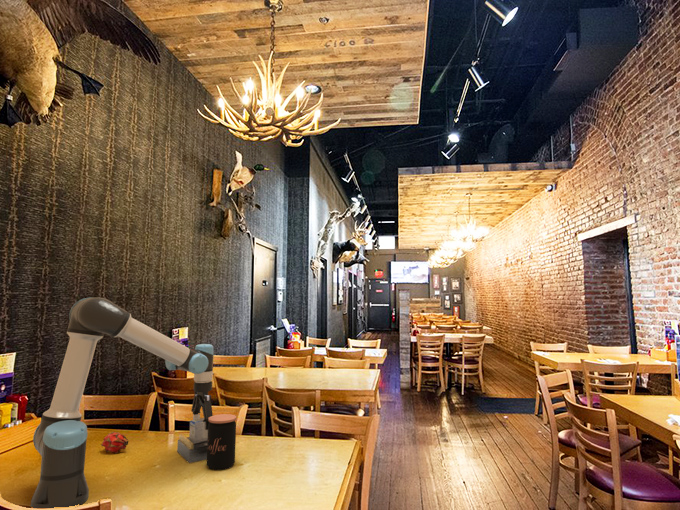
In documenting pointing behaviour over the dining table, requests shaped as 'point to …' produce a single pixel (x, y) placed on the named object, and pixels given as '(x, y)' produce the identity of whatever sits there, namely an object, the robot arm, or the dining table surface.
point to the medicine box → (196, 431)
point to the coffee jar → (221, 441)
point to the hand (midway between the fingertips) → (200, 433)
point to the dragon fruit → (115, 442)
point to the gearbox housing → (191, 449)
